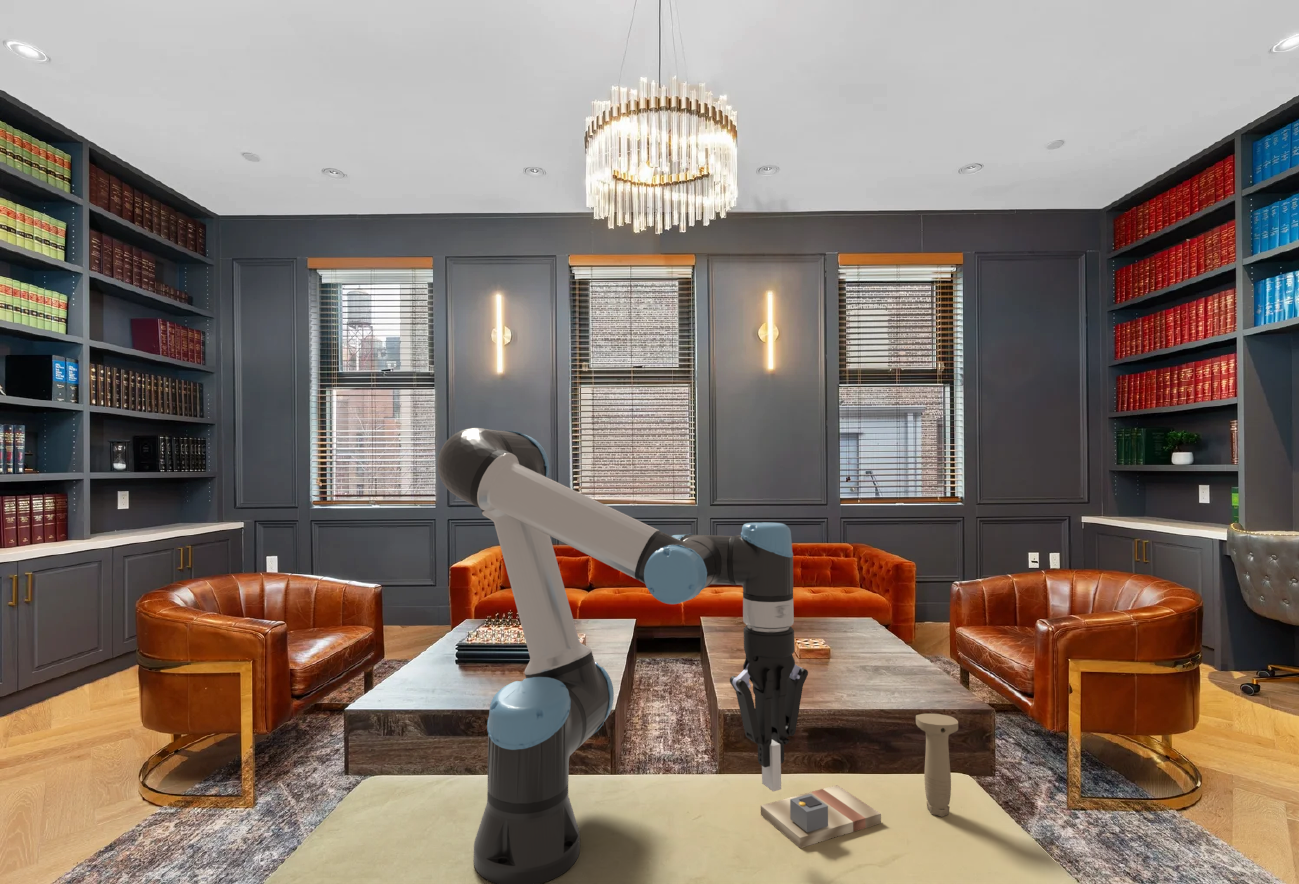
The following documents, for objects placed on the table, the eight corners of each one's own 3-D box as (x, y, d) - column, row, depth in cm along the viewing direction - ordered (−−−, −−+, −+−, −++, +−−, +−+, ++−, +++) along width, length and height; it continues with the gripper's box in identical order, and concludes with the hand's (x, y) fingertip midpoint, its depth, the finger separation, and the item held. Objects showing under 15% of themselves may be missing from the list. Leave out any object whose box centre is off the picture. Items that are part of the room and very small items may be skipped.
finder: (807, 832, 94) (807, 810, 95) (790, 818, 98) (790, 798, 98) (828, 826, 96) (827, 804, 96) (810, 813, 100) (810, 792, 100)
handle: (964, 820, 101) (963, 725, 102) (924, 819, 101) (922, 724, 102) (951, 804, 106) (950, 713, 107) (912, 804, 106) (911, 713, 107)
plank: (800, 848, 94) (800, 837, 94) (760, 814, 103) (760, 805, 103) (881, 823, 100) (880, 813, 100) (837, 793, 109) (837, 784, 109)
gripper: (746, 636, 89) (749, 808, 88) (819, 626, 95) (823, 787, 94) (718, 625, 96) (720, 784, 95) (788, 616, 101) (791, 766, 100)
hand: (771, 786), depth 94 cm, fingers closed
